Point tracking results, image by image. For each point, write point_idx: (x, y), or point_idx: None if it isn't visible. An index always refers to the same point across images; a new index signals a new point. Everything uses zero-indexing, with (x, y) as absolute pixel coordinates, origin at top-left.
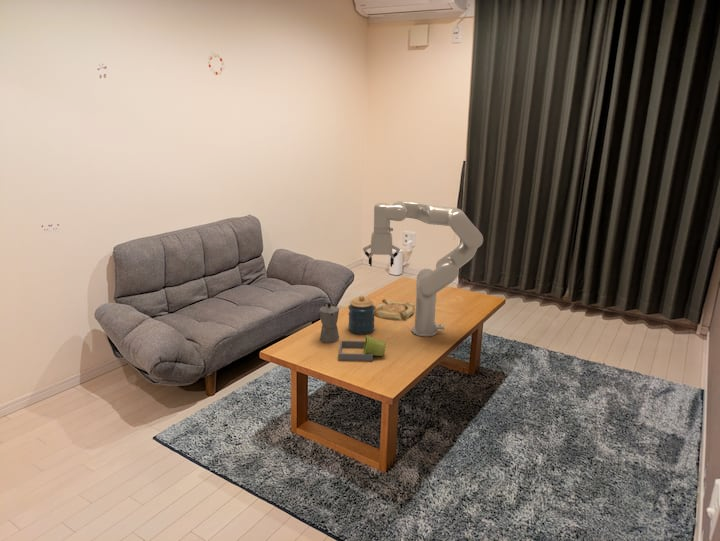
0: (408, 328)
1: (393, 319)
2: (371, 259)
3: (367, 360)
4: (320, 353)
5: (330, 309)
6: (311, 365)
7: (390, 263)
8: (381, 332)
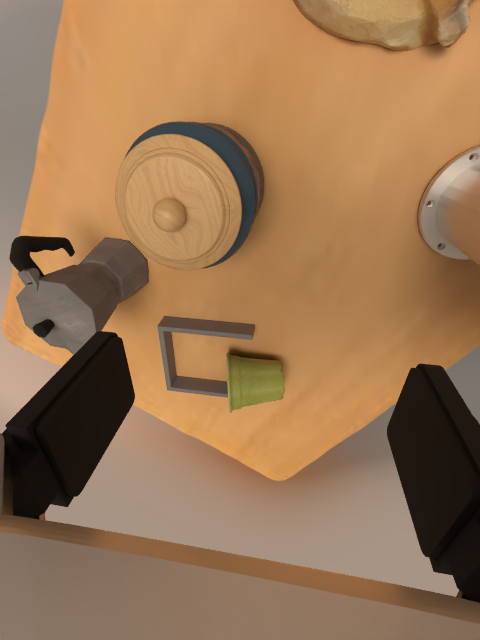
0: (417, 167)
1: (373, 43)
2: (81, 485)
3: None
4: None
5: (64, 336)
6: None
7: (409, 425)
8: (290, 213)
